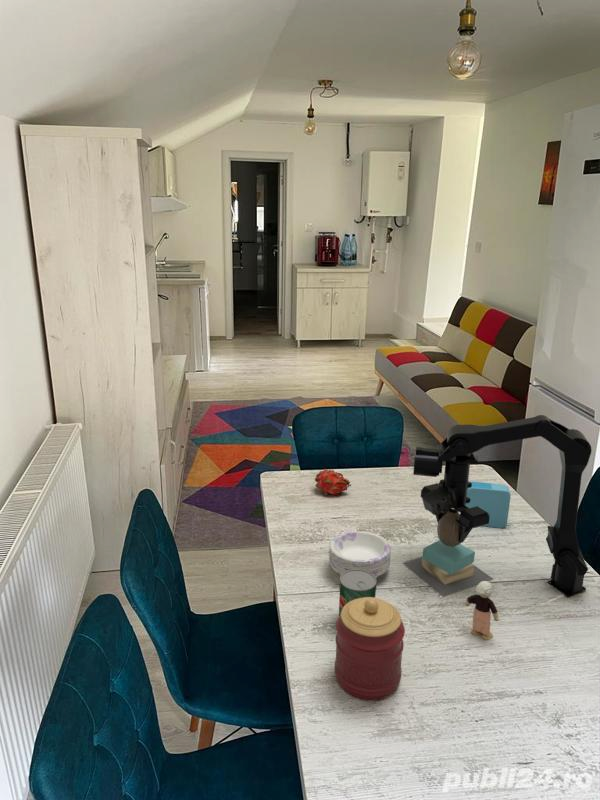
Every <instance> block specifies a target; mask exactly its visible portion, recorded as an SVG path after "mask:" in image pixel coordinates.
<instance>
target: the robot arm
mask: <svg viewBox="0 0 600 800" xmlns="http://www.w3.org/2000/svg"><path fill="white" fill-rule="evenodd" d="M537 437H541V438H543V439H545V440H546V441H548V443H550V444H551V445H553V446H554V447H555V448H556V449H557V450H558V451H559V457H560V464H561V475H560V476H561V477H560V484H559V485H560V486H559V497H558V505H557V518H556V521H555V523H554V525H553V526H552V525H547V536H546V538H545V541H546V543H547V547H548V550H549V552H550V554H552V556H553V558H554V559H553V560H554V563H553V564H552V568H551V574H550V575H551V576H550V580H547V581H546V583H547V584H549V585H550V586H552V587H553V588H554V589H556V590H557V591H559V592H561V593H562V594H563V595H564V596H565V597H567V598H570V597H573V596H576V595H578V594H581V593H584V592H585V591H586V590H587V588H586V587H585V586H584V579H585V575H586V574H587V572H588V571H589V568H588V565H587V563H586V562H585V558H584V556H583V554H582V551H581V550H580V545H579V540H578V539H579V538H578V534H577V520H578V510H579V502H580V493H581V483H582V477H583V472H584V471H585V469H586V467H587V466H588V463H589V461H590V458H591V454H592V446H591V444H590V442H589V441H588V440H587V438H586V437H585V435H584V434H583V433H582V431H580V430H578V429H574V428H570V429H569V428H568V427H566V426H565V425H563V424H561V423H559V422H557V421H555V420H552V419H550V418H549V417H548V416H546V415H543V414H538V415H536V416H533V417H528V418H522V419H516V420H511V421H506V422H505V421H504V422H500V423H499V422H498V423H495V424H488V425H478V424H477V425H476V424H456V425H453V426H452V427H450V428H449V430H448V432H447V435H446V437H445V438H443V440H442V441H441V443H440V444H438V446H437V448H426V447H421V446H416V447H415V456H414V458H413V459H414V460H413V474H412V475H413V476H421V477H433V478H434V477H435V478H437V477H439V476H440V474H442V473H443V462H444V473H443V474H444V476H443V479H440V480H439V482H436V483H433V484H432V483H431V484H428V485H425V486H423V487H422V488H421V490H420V497H421V499H422V503H423V506H424V510H426V511H428V512H430V513H431V514H432V515H434V516H435V518H436V522H437V523H438V522H439V520H440V519H441V517H442V516H444V515H445V514H446V513H447V512H448V511H449V510H451V509H455V510H457V511H458V512H459V515H460V516H459V520H456V522H457V523H458V524H459V543H461V544H462V543H464V542H465V540H466V539H467V537H468V535H469V534H470V533H471V531H472V530H473V529H475V528H478V527H483V526H482V525H485V524H489V518H490V515H489V513H488V512H486V511H484V510H483V509H481V508H479V507H478V506H476V507H472V508H469V507H467V506H465V505H466V503H470V498H468V497H467V490H468V488H470V487H472V483H471V482H472V481H469V479H470V477H469V475H470V469H471V468H470V466H471V465H478V464H479V463H480V462H479V456H477V455H476V454H475V453H477V452H478V451H480V450H481V449H483V448H485V447H488V446H491V445H492V446H493V445H497V444H498V445H499V444H503V443H508V442H516V441H520V440H527V439H532V438H537Z"/></svg>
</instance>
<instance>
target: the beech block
mask: <svg viewBox="0 0 600 800" xmlns="http://www.w3.org/2000/svg"><path fill="white" fill-rule="evenodd" d="M421 557H423V555H421ZM474 565H475V564H474V563H471V564H470V565H468V566H466V567H464V568H463V569H461V570H459V571H458V572H456V573H454V574H452V575H451V574H449V573H447V572H445V571H444V570H442V569H440V568H438V567H436V566H435V565H433V564H431V563H429V562H427V561H425V560H424V559H422V567H423V568H424V569H426V570H427V571H428V572H429V573H431V574H432V575H433V576H434V577H436V578H437V579H438V580H439V581H441V582H442V583H443V584H444V585H446V584H449V583H452V582H455V581H458V580H461V579H464V578H467V577H470V576H473V571H474Z"/></svg>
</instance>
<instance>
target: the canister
mask: <svg viewBox="0 0 600 800" xmlns="http://www.w3.org/2000/svg"><path fill="white" fill-rule="evenodd" d="M335 629H336V631H337V632H336V635H335V648H336V649H335V659H334V660H335V661H334V675H335V680H336V682H337V684H338V686H339V687H340V688H341V690H343V691H344V692H345V693H347V694H348V695H349V696H351V697H353V698H356V699H358V700H363V701H379V700H383V699H387V698H389V697H391V696H392V695H393V694H394V693H396V691H397V689H398V688H399V685H400V682H401V680H402V672H403V671H402V670H403V669H402V660H403V659H402V658H403V650H404V637H405V634H406V633H405V632H406V631H405V630H406V628H405V625H404V622H403V621H402V616H401V614H400V611H399V610H398V608H396V607H395V606H394V605H392V604H391V603H389V602H388V601H386V600H384V599H380V598H378V597H377V598H376V597H375V598H373V597H363V598H358V599H355V600H352V601H350V602H348V603H347V604H346V605H345V606H344V607H343V609H342V611H341V614H340V616H339V615H338V617H337V619H336V622H335Z"/></svg>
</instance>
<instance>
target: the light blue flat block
mask: <svg viewBox="0 0 600 800" xmlns="http://www.w3.org/2000/svg"><path fill="white" fill-rule="evenodd" d="M470 482H471V483H472V487H470V488H468V490H467V497H468V498H470V503H466V505H465V506H467V507H469V508H472V507H476V506H478V507H479V508H481V509H483V510H484V511H486V512H488V513H489V515H490V518H489V524H485V525H482V526H481V527H486V528H494V529H495V528H496V529H503V528H506V527H507V524H508V521H509V511H510V502H511V498H512V497H511V492H510V487H509V486H508V485H506V484H504V483H503V484H501V483H492V482H480V481H470Z"/></svg>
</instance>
